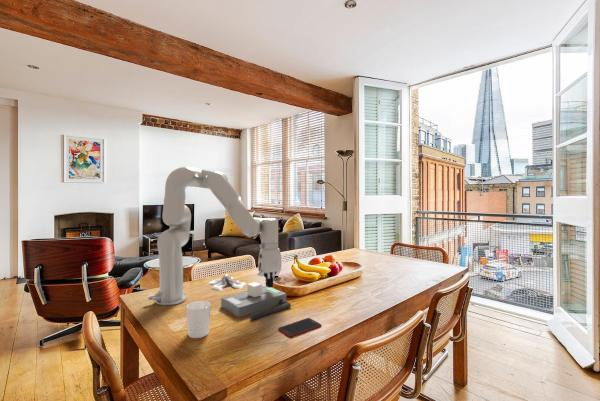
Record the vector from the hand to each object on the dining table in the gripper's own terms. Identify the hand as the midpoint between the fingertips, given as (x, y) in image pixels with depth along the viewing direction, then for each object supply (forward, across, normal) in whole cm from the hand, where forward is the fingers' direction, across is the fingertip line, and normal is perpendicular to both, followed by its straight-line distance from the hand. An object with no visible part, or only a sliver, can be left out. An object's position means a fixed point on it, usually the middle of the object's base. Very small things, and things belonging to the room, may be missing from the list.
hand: (269, 286), depth 134 cm
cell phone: (+7, -8, -29) cm, 31 cm away
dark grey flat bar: (+6, -8, -10) cm, 14 cm away
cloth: (+7, -3, +33) cm, 34 cm away
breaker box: (+6, -8, 0) cm, 10 cm away
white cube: (+2, -8, 0) cm, 8 cm away
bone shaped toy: (+6, +24, +32) cm, 41 cm away
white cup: (+6, -37, -9) cm, 39 cm away
